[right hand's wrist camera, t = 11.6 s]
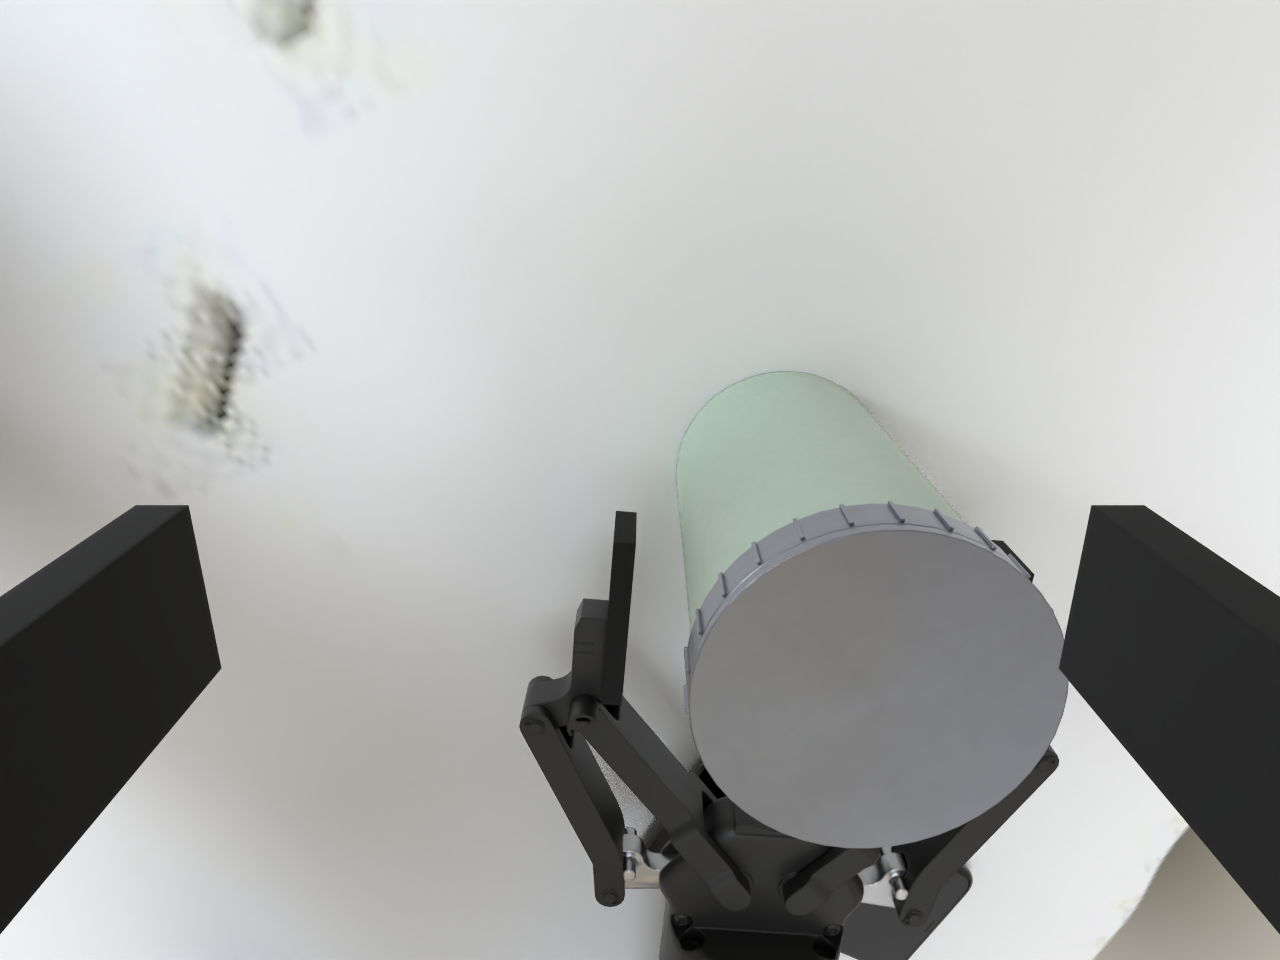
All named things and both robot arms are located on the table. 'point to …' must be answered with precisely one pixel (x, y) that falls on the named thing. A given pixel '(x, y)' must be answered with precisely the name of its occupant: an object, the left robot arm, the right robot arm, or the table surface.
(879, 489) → the jar
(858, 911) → the smartphone
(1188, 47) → the table surface
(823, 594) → the lid
